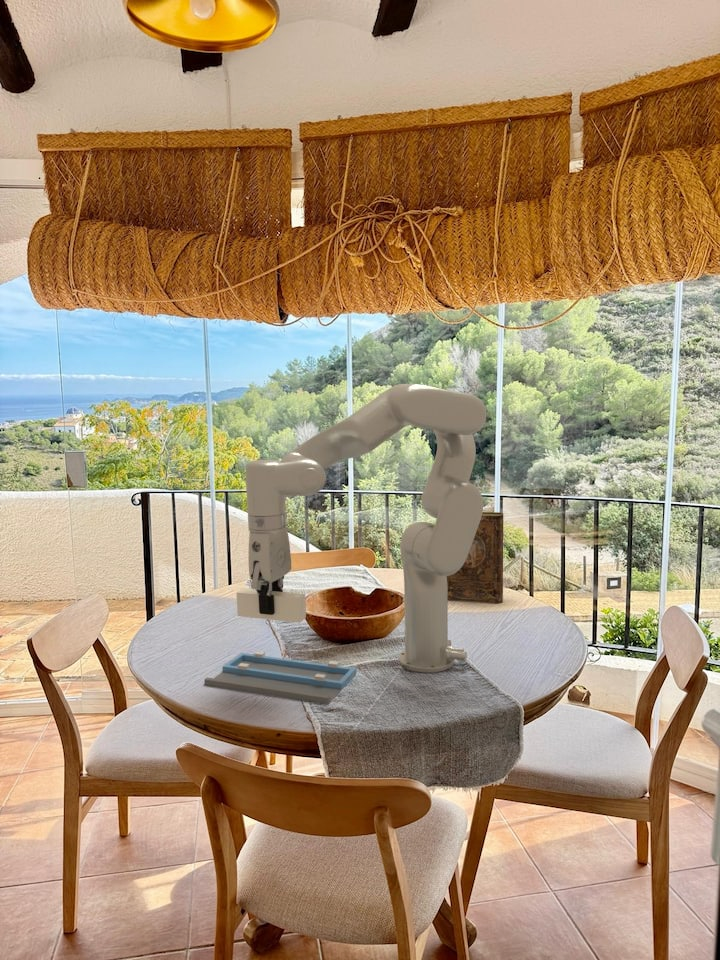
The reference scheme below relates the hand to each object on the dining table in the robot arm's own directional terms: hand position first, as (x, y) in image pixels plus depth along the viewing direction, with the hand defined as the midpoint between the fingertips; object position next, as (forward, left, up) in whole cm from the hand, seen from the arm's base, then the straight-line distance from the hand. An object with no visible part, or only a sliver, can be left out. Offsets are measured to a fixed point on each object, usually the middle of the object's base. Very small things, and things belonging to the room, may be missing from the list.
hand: (271, 610), depth 142 cm
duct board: (0, -3, -17) cm, 17 cm away
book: (-27, -71, -17) cm, 78 cm away
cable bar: (0, 0, -1) cm, 1 cm away
